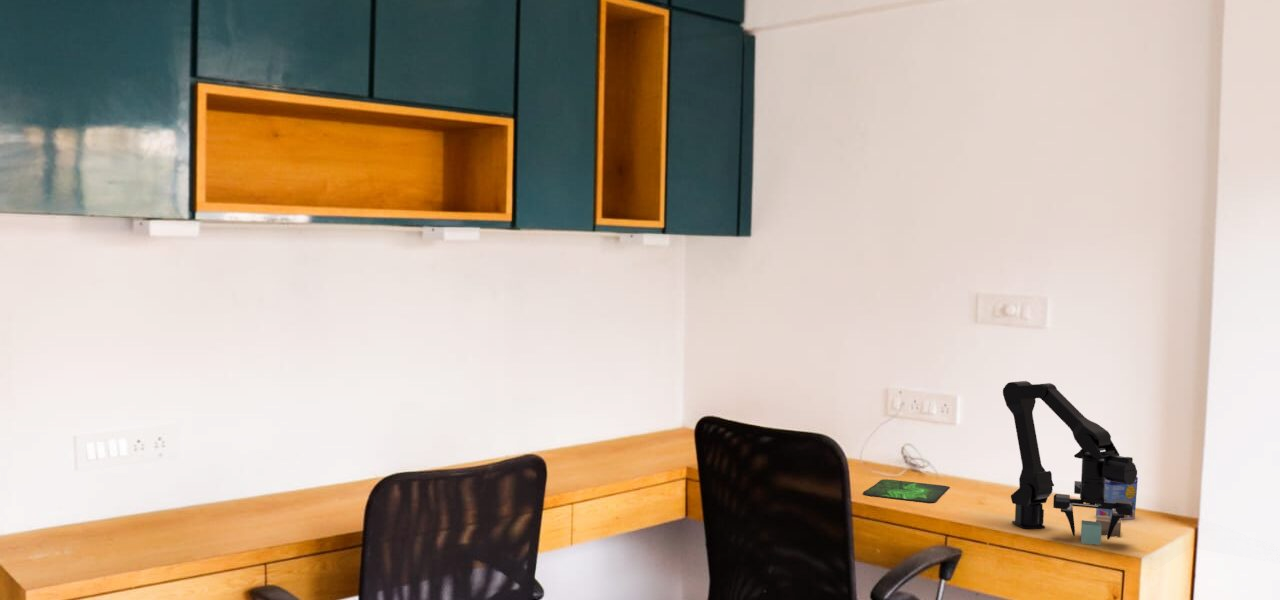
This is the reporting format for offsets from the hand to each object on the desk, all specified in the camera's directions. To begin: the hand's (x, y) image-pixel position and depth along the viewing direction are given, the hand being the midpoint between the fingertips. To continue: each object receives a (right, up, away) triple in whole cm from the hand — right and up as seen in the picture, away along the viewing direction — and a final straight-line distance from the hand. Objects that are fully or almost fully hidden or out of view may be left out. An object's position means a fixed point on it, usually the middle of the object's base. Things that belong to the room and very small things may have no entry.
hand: (1090, 537), depth 283 cm
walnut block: (+9, -1, +10) cm, 13 cm away
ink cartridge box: (+18, -1, +26) cm, 32 cm away
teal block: (0, -1, 0) cm, 1 cm away
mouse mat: (-34, +2, +56) cm, 66 cm away
